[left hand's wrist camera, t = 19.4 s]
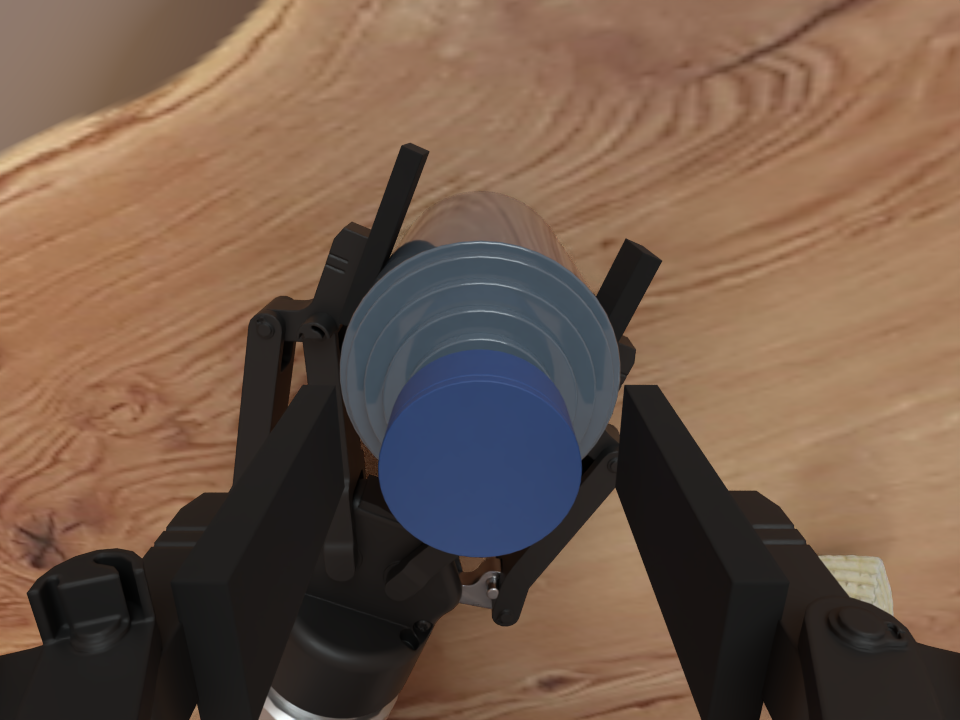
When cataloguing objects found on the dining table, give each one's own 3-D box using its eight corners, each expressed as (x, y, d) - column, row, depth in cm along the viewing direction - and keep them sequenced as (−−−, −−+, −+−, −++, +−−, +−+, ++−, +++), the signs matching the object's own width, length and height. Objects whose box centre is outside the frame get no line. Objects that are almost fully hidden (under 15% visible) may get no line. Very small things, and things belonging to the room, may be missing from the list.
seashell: (683, 661, 35) (786, 626, 29) (731, 555, 40) (825, 508, 34) (801, 770, 34) (933, 757, 28) (833, 646, 39) (949, 613, 33)
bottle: (579, 203, 28) (705, 308, 12) (549, 366, 31) (620, 620, 15) (402, 179, 28) (301, 256, 12) (388, 347, 31) (291, 586, 15)
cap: (386, 502, 16) (375, 550, 14) (393, 341, 14) (381, 372, 12) (557, 515, 16) (567, 564, 14) (582, 356, 14) (596, 389, 12)
